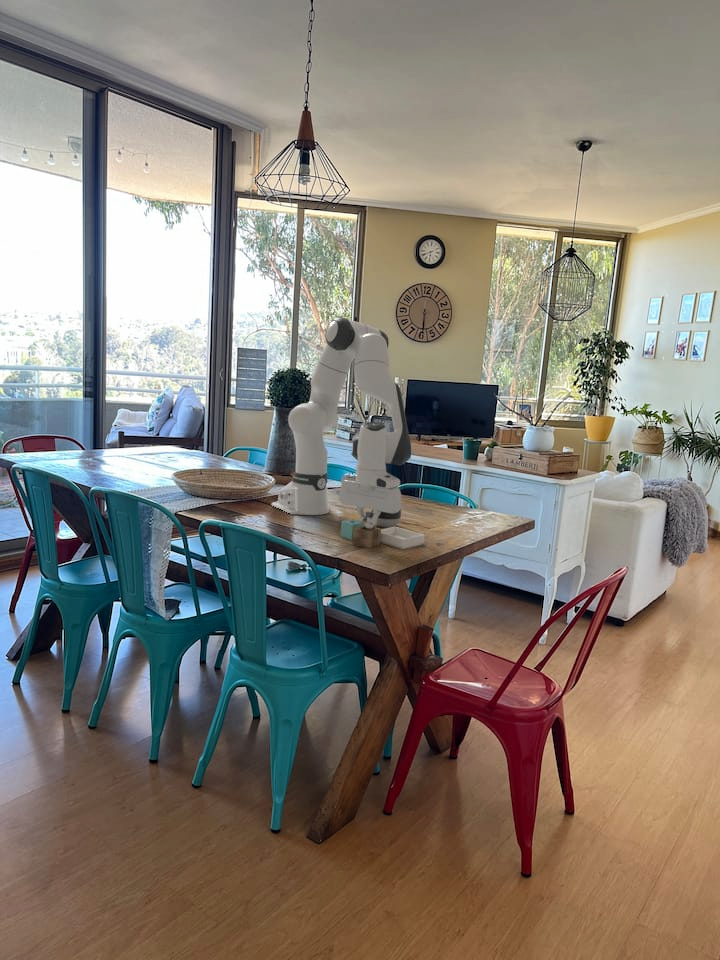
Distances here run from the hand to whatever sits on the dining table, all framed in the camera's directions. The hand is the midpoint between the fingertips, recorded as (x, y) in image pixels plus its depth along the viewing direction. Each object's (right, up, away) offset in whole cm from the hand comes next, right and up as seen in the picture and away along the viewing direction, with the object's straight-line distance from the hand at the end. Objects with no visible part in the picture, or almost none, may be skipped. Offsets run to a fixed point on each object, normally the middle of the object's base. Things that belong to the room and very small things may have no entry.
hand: (367, 522), depth 209 cm
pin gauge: (0, -6, +2) cm, 6 cm away
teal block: (-5, -5, +9) cm, 12 cm away
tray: (+10, -6, +7) cm, 13 cm away
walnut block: (0, -7, +2) cm, 7 cm away
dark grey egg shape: (+6, -3, +26) cm, 27 cm away
